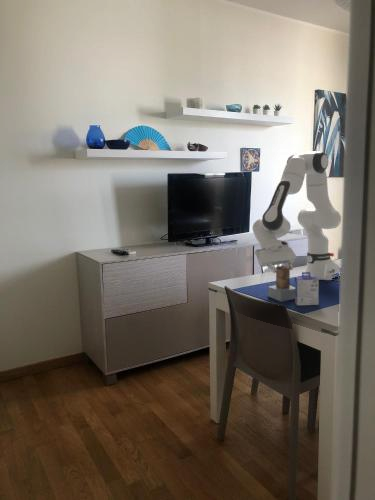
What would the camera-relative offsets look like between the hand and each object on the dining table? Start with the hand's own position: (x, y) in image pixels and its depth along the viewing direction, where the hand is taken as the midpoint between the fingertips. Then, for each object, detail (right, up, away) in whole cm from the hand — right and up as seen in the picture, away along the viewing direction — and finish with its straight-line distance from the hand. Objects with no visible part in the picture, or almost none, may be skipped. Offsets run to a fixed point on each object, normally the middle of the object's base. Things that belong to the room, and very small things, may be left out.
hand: (283, 270), depth 196 cm
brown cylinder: (0, -8, +2) cm, 8 cm away
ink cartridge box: (+9, -15, -8) cm, 19 cm away
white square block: (0, -13, +3) cm, 13 cm away
